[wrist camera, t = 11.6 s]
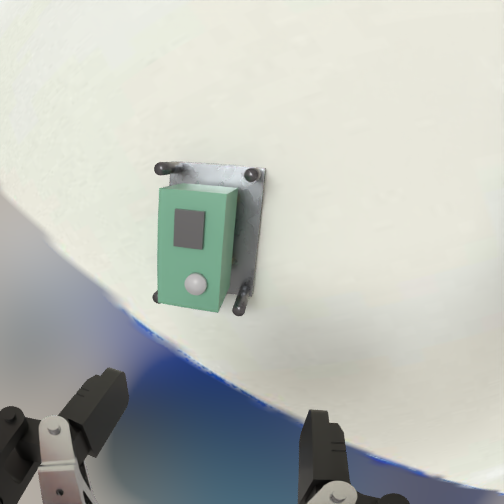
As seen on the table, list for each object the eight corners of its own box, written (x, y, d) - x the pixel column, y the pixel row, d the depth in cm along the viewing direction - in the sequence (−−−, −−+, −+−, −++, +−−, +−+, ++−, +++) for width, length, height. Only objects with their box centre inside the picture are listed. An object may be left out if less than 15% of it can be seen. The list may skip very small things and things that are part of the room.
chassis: (174, 161, 32) (152, 162, 27) (265, 168, 32) (261, 169, 26) (169, 281, 36) (150, 302, 31) (252, 292, 36) (246, 317, 30)
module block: (182, 183, 29) (156, 189, 23) (238, 187, 29) (225, 194, 23) (178, 278, 32) (155, 305, 26) (229, 286, 32) (216, 315, 26)
